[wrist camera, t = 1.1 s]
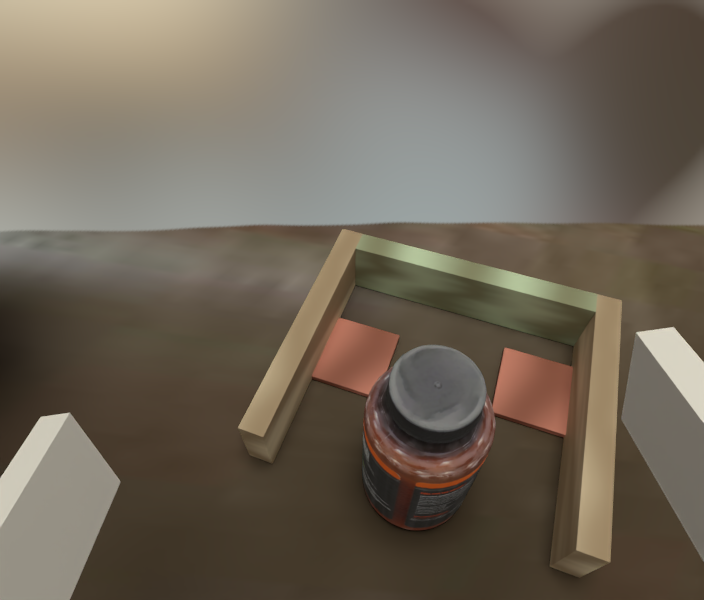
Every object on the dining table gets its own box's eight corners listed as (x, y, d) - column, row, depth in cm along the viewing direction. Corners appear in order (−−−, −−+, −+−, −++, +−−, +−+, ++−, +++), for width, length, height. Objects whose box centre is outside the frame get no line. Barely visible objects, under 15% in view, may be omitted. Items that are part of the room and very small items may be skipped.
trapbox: (249, 455, 30) (237, 427, 27) (343, 265, 39) (342, 228, 36) (578, 577, 26) (610, 562, 23) (597, 335, 35) (621, 300, 32)
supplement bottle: (485, 481, 29) (545, 390, 20) (415, 558, 27) (447, 493, 18) (410, 411, 32) (433, 302, 23) (339, 475, 29) (334, 381, 20)
